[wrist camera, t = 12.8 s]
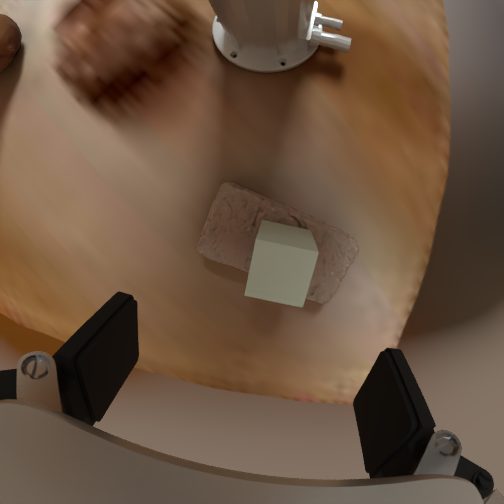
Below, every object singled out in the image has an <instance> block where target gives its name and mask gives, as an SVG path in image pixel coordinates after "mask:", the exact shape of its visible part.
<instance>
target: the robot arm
mask: <svg viewBox="0 0 504 504" xmlns="http://www.w3.org/2000/svg"><path fill="white" fill-rule="evenodd" d="M209 2H210V4H211V6H212V8H213V10H214V12H215V13H216V15H215V17H214V21H213V25H212V34H213V38H214V42H215V44H216V46H217V48H218V49H219V51H220V52H221V53H222V55H223V56H224V57H225V58H226V59H228V60H229V61H230V62H232V63H233V64H235V65H236V66H239V67H241V68H243V69H246V70H250V71H254V72H262V73H273V72H281V71H285V70H289V69H292V68H294V67H297V66H299V65H300V64H302V63H304V62H305V61H306V60H308V59H309V58H310V57H311V56H312V55H313V54H314V52H315V51H316V49H317V48H318V46H319V45H322V46H326V47H330V48H331V49H334V50H338V51H341V52H345V53H348V51H349V48H350V44H351V38H348V37H345V36H341V35H338V34H331V33H328V32H324V31H322V25H323V26H327V27H329V28H332V29H336V30H341V27H342V20H340V19H336V18H332V17H331V18H330V17H326V16H322V15H321V14H322V13H319V12H317V10H316V9H317V5H318V3H317V2H315V0H209ZM233 56H237V57H236V58H233ZM281 63H285V66H282V65H281ZM138 357H139V346H138V318H137V301H136V300H134V298H133V296H132V295H129V294H126V293H123V292H117V293H116V294H115V295H114V296H113V297H112V298H111V299H110V300H108V301H107V302H106V303H105V304H104V305H103V306H102V307H101V308H100V309H99V310H98V311H97V312H96V313H95V314H94V315H93V316H92V317H91V318H90V319H89V320H87V321H86V322H85V323H84V324H83V325H82V326H81V327H80V328H79V329H78V330H77V331H76V332H75V333H74V334H73V335H72V336H71V337H70V338H69V339H68V341H67V342H66V343H65V344H64V345H63V346H62V347H61V348H60V349H59V350H58V351H57V352H56V353H55V354H54V355H53V356H52V357H51V356H50V355H48V354H47V353H44V352H31V353H28V354H26V355H25V356H23V357H22V358H21V359H20V361H19V362H18V365H17V369H11V370H3V371H0V504H504V496H503V495H502V494H501V493H500V492H499V491H498V490H497V489H495V490H494V491H493V487H494V482H493V478H492V476H491V475H490V473H489V472H487V471H486V470H485V469H483V468H481V467H479V466H478V465H476V464H474V463H473V462H471V461H469V460H468V459H466V458H464V457H463V456H461V450H462V446H461V443H460V441H459V439H458V438H457V436H456V435H455V434H453V433H452V432H450V431H447V430H439V431H437V432H434V429H433V428H434V427H435V426H436V425H435V422H434V420H433V418H432V415H431V413H430V410H429V408H428V406H427V404H426V401H425V399H424V397H423V395H422V392H421V390H420V388H419V386H418V384H417V381H416V379H415V377H414V375H413V373H412V371H411V369H410V367H409V365H408V363H407V361H406V359H405V357H404V355H403V353H402V351H401V350H400V349H393V348H386V349H385V350H384V351H382V352H380V354H379V356H378V358H377V360H376V362H375V363H374V365H373V367H372V369H371V371H370V373H369V374H368V376H367V378H366V380H365V381H364V383H363V385H362V386H361V388H360V390H359V392H358V393H357V395H356V397H355V398H354V402H353V406H354V411H355V415H356V421H357V426H358V431H359V436H360V442H361V447H362V453H363V458H364V464H365V470H366V472H367V473H369V475H370V479H353V480H352V479H351V480H321V479H320V480H319V479H299V478H286V477H276V476H267V475H259V474H252V473H245V472H239V471H234V470H228V469H223V468H218V467H214V466H209V465H205V464H201V463H197V462H193V461H188V460H185V459H181V458H178V457H174V456H171V455H167V454H164V453H161V452H158V451H155V450H152V449H149V448H146V447H143V446H140V445H138V444H135V443H132V442H129V441H127V440H124V439H122V438H119V437H117V436H114V435H111V434H109V433H107V432H104V431H102V430H100V429H97V428H95V427H93V425H94V423H95V422H96V421H98V422H99V421H100V420H101V419H102V418H103V416H104V414H105V412H106V411H107V409H108V408H109V406H110V404H111V403H112V401H113V400H114V398H115V396H116V395H117V393H118V391H119V390H120V388H121V387H122V385H123V383H124V382H125V380H126V379H127V377H128V375H129V374H130V372H131V371H132V369H133V368H134V366H135V364H136V363H137V361H138Z"/></svg>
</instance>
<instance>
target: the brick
mask: <svg viewBox="0 0 504 504" xmlns="http://www.w3.org/2000/svg"><path fill="white" fill-rule="evenodd" d="M262 220H266V221H270V222H275V223H280V224H284V225H289V226H293V227H298V228H302V229H307V230H311V232H312V235H313V238H314V241H315V243H316V246H317V249H318V252H319V254H318V257H317V261H316V264H315V268H314V271H313V275H312V278H311V282H310V285H309V289H308V292H307V295H306V299H307V300H311V301H315V302H317V303H319V304H325V303H327V302H328V301H329V300H330V299H331V297H332V295H333V294H334V293H335V291H336V290H337V289H338V288H339V286H340V282H341V280H342V279H343V277H344V276H345V273H346V271H347V270H348V268H349V267H350V265H351V264H352V263H353V261H354V258H355V257H356V255H357V253H358V251H359V246H358V244H357V241H356V240H355V239H354V238H353V237H350V235H349V234H346V233H345V232H343V231H341V230H339V229H336V228H334V227H332V226H329V225H326V224H325V223H323V222H320V221H318V220H316V219H315V218H313V217H311V216H308V215H305V214H303V213H300V212H298V211H297V210H295V209H293V208H290V207H288V206H286V205H284V204H282V203H279V202H277V201H275V200H273V199H271V198H269V197H265V196H263V195H261V194H258V193H256V192H254V191H252V190H249V189H247V188H244V187H242V186H240V185H237V184H235V183H233V182H228V181H227V182H224V183H222V184H221V186H220V188H219V190H218V193H217V195H216V197H215V200H213V203H212V205H211V208H210V211H209V213H208V216H207V219H206V222H205V224H204V227H203V229H202V232H201V236H200V238H199V241H198V245H197V251H198V252H199V253H201V254H202V255H204V256H205V257H206V258H208V259H211V260H213V261H216V262H219V263H222V264H225V265H228V266H231V267H234V268H237V269H240V270H242V271H245V272H249V270H250V265H251V260H252V255H253V250H254V245H255V240H256V237H257V234H258V231H259V228H260V225H261V222H262Z"/></svg>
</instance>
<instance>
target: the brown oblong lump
mask: <svg viewBox="0 0 504 504" xmlns="http://www.w3.org/2000/svg"><path fill="white" fill-rule="evenodd" d="M21 38H22V36H21V32H20V29H19V27H18V26H17V24H16V23H15V22H14V21H13V20H12V19H11V18H9V17H8V16H6V15H3V14H0V73H1V72H2V71H4V70H5V69H6V68H7V67H8V66H9V64H10V63H11V61H12V60H13V58H14V55H15V53H16V52H17V50H18V49H19V48H20V44H21Z"/></svg>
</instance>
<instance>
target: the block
mask: <svg viewBox="0 0 504 504" xmlns="http://www.w3.org/2000/svg"><path fill="white" fill-rule="evenodd" d="M318 254H319V252H318V249H317V246H316V243H315V241H314V238H313V235H312V232H311V230H307V229H302V228H298V227H293V226H289V225H284V224H280V223H275V222H270V221H266V220H262V222H261V225H260V228H259V231H258V234H257V237H256V240H255V245H254V250H253V255H252V260H251V265H250V270H249V275H248V280H247V284H246V289H245V294H244V296H249V297H253V298H258V299H262V300H267V301H272V302H277V303H282V304H287V305H291V306H296V307H302V308H303V305H304V302H305V299H306V295H307V292H308V289H309V285H310V282H311V278H312V275H313V271H314V268H315V264H316V261H317V257H318Z"/></svg>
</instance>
